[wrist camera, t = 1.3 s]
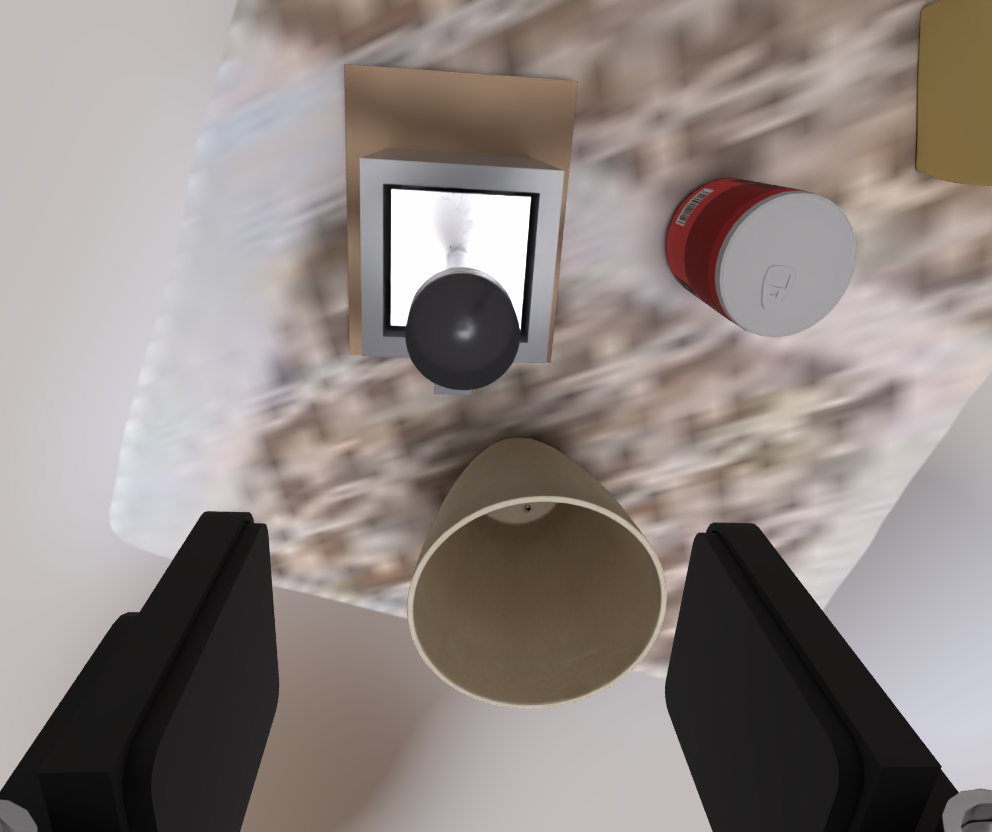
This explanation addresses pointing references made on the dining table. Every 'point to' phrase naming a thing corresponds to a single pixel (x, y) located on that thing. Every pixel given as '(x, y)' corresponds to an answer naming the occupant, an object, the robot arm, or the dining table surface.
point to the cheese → (955, 92)
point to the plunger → (458, 281)
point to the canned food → (762, 254)
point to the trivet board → (450, 135)
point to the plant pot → (533, 582)
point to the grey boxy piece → (459, 176)
